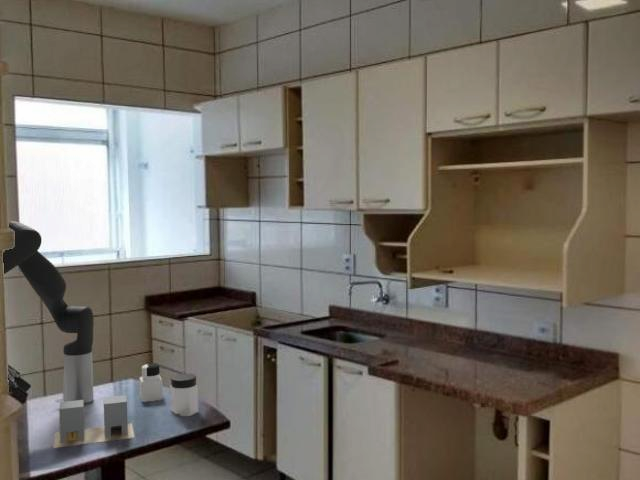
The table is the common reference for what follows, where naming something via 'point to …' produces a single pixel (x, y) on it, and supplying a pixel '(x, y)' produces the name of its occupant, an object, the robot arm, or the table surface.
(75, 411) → the cube cover
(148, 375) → the medicine bottle
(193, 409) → the jar
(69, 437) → the letter cube
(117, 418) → the empty cover
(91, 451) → the table surface
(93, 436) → the birch board
